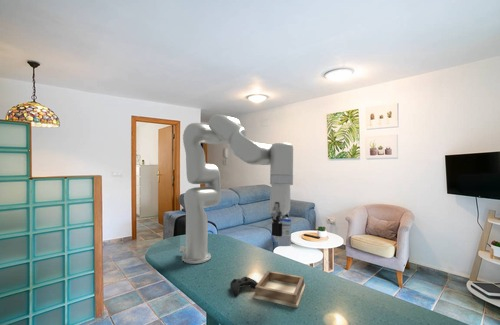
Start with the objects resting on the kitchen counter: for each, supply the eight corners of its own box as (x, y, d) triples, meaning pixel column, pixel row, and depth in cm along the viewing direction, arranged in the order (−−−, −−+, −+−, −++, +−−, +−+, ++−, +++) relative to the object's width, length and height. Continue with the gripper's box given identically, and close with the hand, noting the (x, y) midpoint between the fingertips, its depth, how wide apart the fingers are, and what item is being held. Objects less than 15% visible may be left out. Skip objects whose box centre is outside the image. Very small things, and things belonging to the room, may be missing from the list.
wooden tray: (253, 297, 76) (253, 287, 76) (267, 278, 89) (267, 269, 89) (297, 308, 71) (297, 296, 71) (305, 286, 84) (305, 276, 84)
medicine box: (270, 239, 84) (271, 214, 84) (283, 238, 85) (283, 213, 85) (277, 246, 76) (278, 219, 76) (291, 246, 77) (291, 218, 77)
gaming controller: (235, 295, 76) (229, 276, 80) (230, 302, 79) (224, 283, 83) (261, 288, 81) (254, 270, 85) (255, 294, 84) (248, 277, 88)
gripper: (277, 178, 90) (277, 225, 90) (262, 181, 74) (261, 237, 74) (297, 179, 87) (297, 227, 87) (286, 182, 71) (285, 240, 71)
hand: (280, 232), depth 81 cm, fingers closed on medicine box, 9 cm apart
